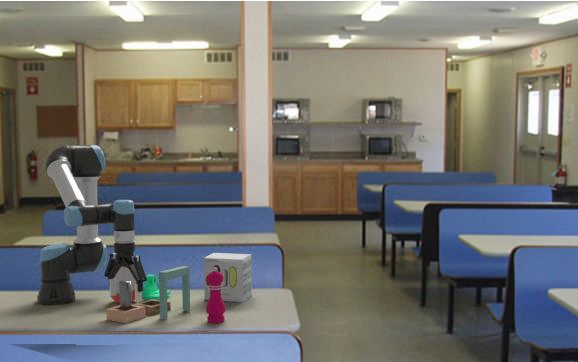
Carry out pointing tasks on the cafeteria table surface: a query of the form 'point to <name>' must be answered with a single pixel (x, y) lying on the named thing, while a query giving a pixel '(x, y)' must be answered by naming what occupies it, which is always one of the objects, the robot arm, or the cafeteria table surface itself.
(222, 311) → the pepper mill
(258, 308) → the cafeteria table surface
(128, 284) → the metal cylinder
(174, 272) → the teal green arch
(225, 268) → the supplement box
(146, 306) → the socket block
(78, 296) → the cafeteria table surface
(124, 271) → the french fries container
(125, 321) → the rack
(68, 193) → the robot arm
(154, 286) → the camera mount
